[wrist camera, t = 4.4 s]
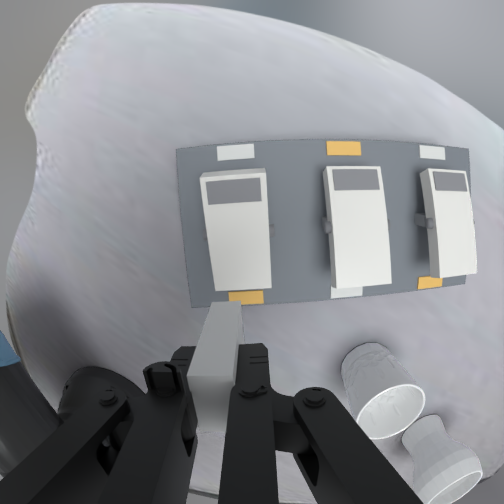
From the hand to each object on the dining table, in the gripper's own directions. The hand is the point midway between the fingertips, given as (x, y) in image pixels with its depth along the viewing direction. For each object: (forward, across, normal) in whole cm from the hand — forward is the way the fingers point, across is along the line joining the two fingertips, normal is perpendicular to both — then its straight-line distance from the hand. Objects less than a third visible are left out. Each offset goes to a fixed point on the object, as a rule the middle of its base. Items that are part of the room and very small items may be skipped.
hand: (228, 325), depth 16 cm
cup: (+17, +28, -32) cm, 46 cm away
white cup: (+17, +14, -15) cm, 27 cm away
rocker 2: (+8, +9, +4) cm, 13 cm away
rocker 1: (+8, 0, +4) cm, 9 cm away
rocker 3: (+8, +18, +4) cm, 20 cm away
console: (+17, +10, +4) cm, 19 cm away
